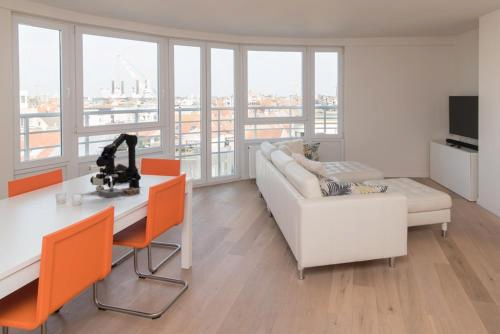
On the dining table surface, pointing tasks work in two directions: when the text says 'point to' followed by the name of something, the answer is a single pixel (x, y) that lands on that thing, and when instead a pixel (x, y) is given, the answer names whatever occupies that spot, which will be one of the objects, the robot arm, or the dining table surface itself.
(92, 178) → the pneumatic valve
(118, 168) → the squash
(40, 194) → the dining table surface
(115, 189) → the socket plate
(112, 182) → the steel pin
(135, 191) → the walnut mount
